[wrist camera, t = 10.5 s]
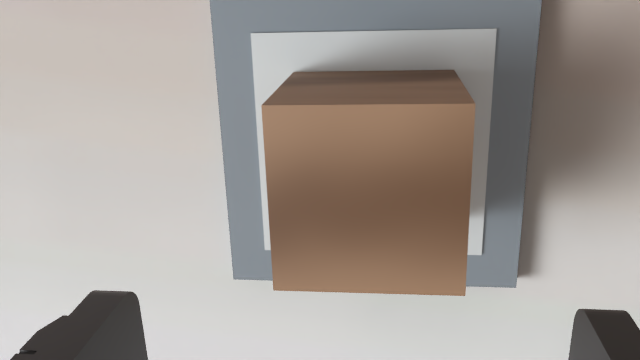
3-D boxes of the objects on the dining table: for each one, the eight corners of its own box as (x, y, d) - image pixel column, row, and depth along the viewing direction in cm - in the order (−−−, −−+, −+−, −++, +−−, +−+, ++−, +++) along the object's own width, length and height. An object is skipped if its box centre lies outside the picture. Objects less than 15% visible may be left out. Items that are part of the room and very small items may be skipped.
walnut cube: (293, 72, 23) (261, 105, 17) (454, 69, 22) (475, 103, 16) (300, 217, 25) (273, 290, 19) (448, 219, 24) (465, 295, 18)
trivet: (215, -9, 23) (208, -8, 22) (538, -18, 22) (543, -17, 21) (237, 270, 27) (233, 280, 26) (512, 278, 26) (516, 288, 25)
